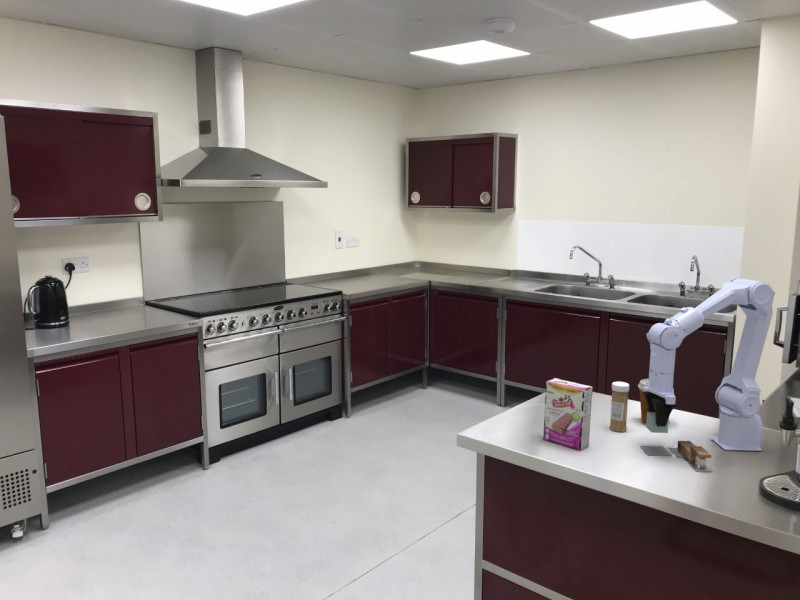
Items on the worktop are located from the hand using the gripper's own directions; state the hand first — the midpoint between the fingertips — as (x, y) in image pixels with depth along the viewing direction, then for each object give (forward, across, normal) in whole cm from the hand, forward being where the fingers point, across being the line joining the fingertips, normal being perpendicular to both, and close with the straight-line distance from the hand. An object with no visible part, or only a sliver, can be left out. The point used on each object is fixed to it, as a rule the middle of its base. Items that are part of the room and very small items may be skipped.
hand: (657, 422), depth 158 cm
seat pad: (+8, 0, 0) cm, 8 cm away
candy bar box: (+8, -4, -22) cm, 24 cm away
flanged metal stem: (+8, +10, +7) cm, 14 cm away
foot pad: (+8, +1, +7) cm, 10 cm away
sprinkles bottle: (+8, -15, -5) cm, 18 cm away
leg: (+7, +6, +7) cm, 12 cm away
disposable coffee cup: (+8, -21, +7) cm, 23 cm away
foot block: (+2, 0, 0) cm, 2 cm away
